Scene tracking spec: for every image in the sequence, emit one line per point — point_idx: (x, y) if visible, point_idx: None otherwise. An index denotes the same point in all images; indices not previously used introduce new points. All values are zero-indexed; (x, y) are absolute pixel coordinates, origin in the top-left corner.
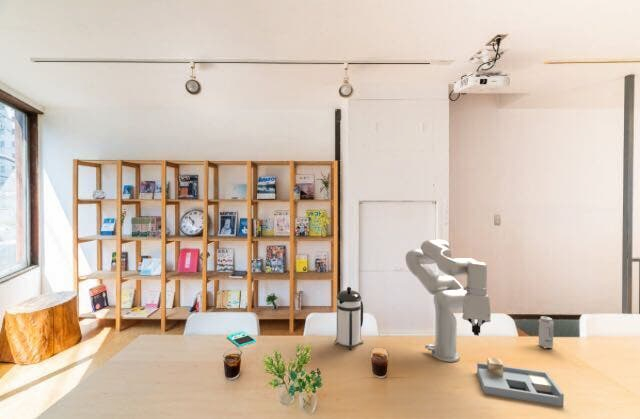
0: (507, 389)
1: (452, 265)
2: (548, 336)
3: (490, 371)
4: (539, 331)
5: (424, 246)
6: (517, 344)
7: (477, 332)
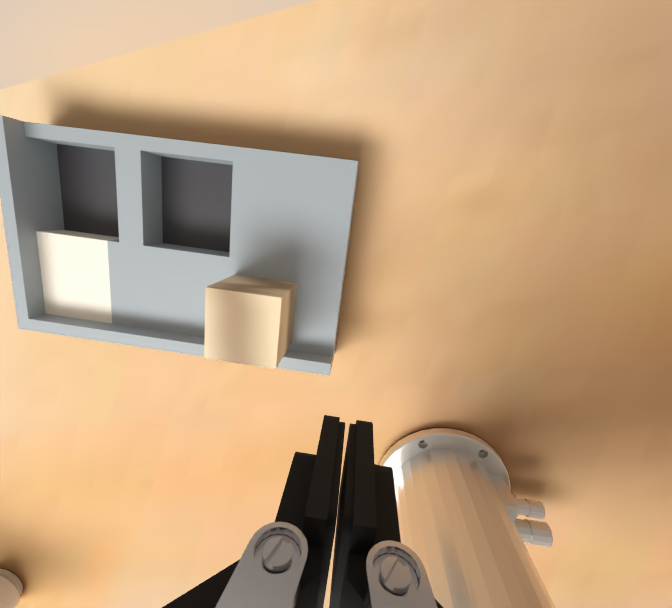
0: (247, 148)
1: None
2: None
3: (288, 286)
4: None
5: None
6: (101, 594)
7: (336, 440)
